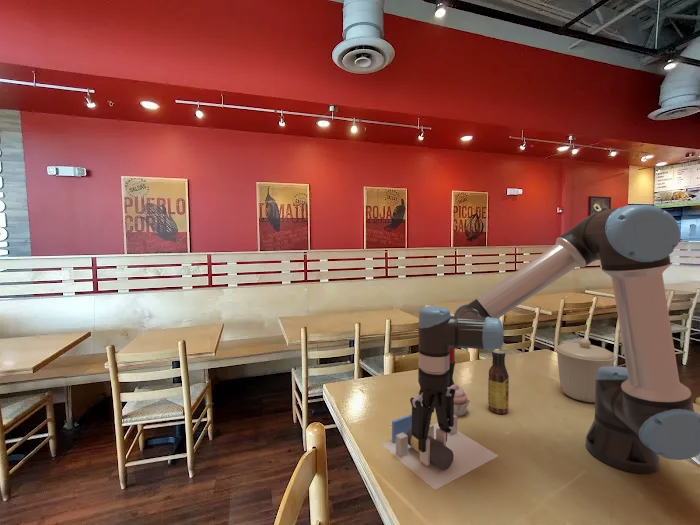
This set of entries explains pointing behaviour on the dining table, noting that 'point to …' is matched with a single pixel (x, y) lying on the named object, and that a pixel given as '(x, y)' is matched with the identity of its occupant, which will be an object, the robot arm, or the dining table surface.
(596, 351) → the canister
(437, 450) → the banded cylinder post
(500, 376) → the sauce bottle
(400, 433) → the white base plate
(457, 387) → the cupcake
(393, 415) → the dining table surface
